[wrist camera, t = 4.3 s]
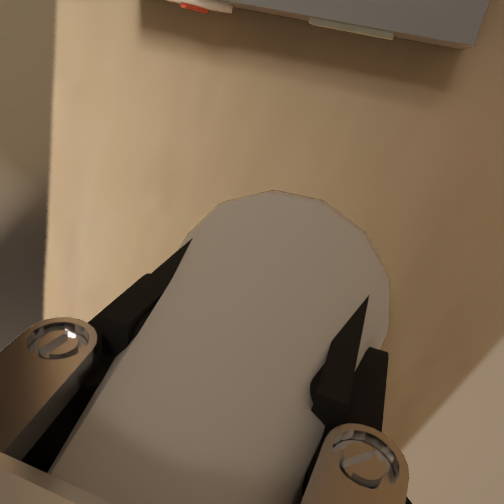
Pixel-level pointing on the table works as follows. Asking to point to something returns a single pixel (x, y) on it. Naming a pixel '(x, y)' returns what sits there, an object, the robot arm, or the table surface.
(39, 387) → the robot arm
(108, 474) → the salt shaker
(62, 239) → the table surface
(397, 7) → the scale
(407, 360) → the table surface
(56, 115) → the table surface
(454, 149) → the table surface
